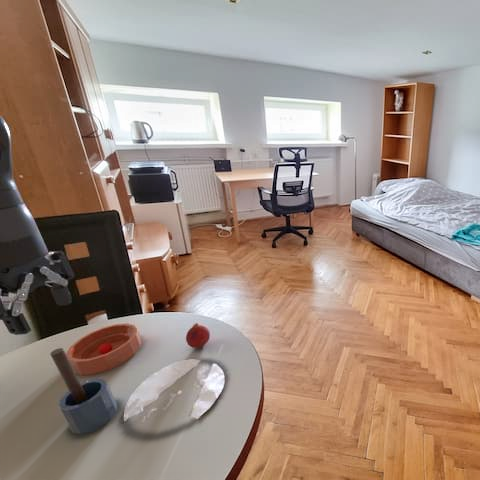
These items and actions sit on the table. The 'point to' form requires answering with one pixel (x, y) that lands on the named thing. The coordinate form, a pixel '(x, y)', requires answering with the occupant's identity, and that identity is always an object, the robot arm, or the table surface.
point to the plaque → (166, 378)
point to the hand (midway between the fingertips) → (45, 317)
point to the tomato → (105, 348)
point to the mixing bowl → (93, 362)
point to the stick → (69, 375)
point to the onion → (197, 336)
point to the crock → (89, 407)
